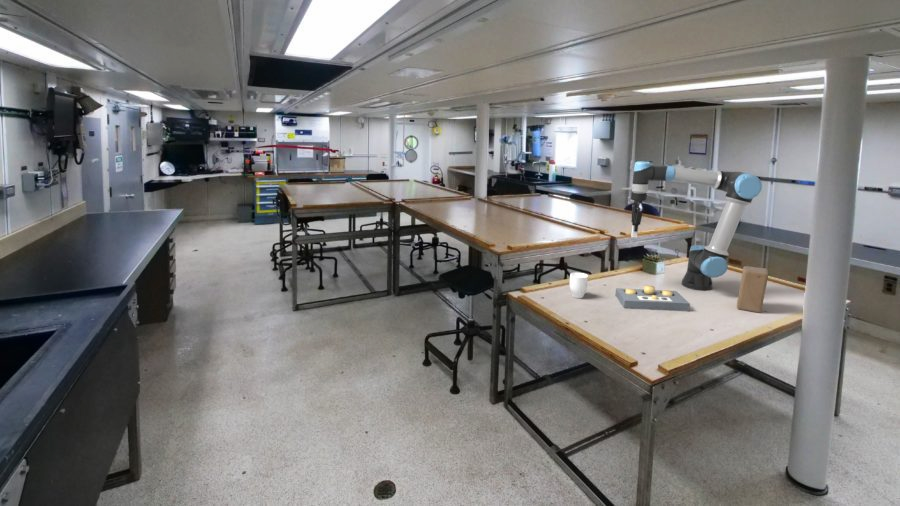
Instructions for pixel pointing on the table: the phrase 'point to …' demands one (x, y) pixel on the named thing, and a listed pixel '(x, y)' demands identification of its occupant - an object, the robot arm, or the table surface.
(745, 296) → the wooden block
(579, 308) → the table surface
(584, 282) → the mug
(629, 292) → the button
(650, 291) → the button middle
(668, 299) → the card
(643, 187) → the robot arm
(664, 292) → the button
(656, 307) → the console
